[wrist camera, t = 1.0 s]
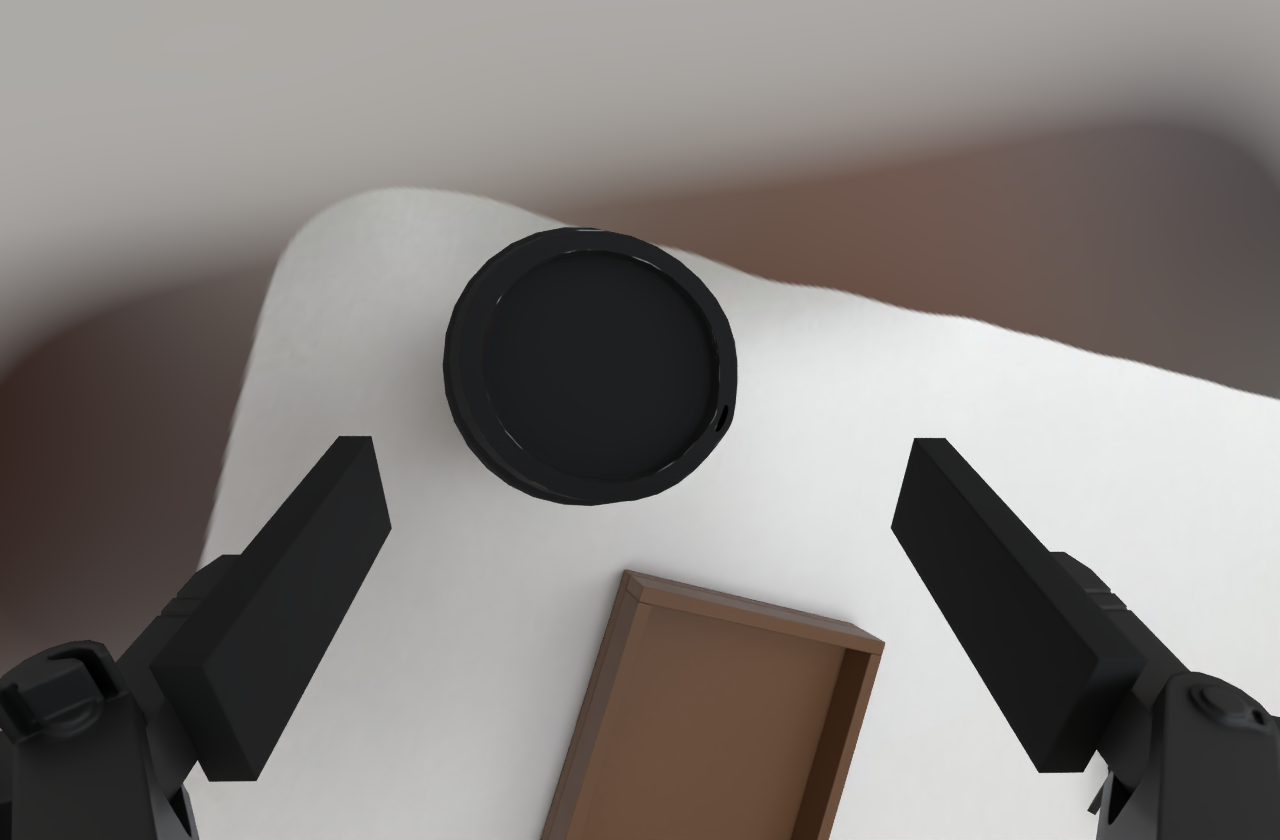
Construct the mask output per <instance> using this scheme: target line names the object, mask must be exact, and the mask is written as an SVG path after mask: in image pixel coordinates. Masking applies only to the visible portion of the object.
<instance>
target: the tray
mask: <svg viewBox="0 0 1280 840" xmlns="http://www.w3.org/2000/svg"><path fill="white" fill-rule="evenodd" d="M884 646H885V642H884V641H882V640H880V639H878V638H876V637H875V636H873V635H871V634H869V633H868V632H866V631H864V630H862V629H860V628H859V627H857V626H855V625H853V624H851V623H847V622H843V621H839V620H835V619H831V618H826V617H822V616H818V615H814V614H810V613H805V612H801V611H797V610H793V609H789V608H785V607H780V606H776V605H772V604H768V603H764V602H759V601H755V600H751V599H747V598H743V597H739V596H734V595H730V594H726V593H722V592H718V591H713V590H709V589H705V588H701V587H697V586H693V585H688V584H684V583H680V582H676V581H672V580H667V579H663V578H659V577H655V576H651V575H647V574H642V573H638V572H634V571H630V570H625V571H624V574H623V577H622V580H621V584H620V587H619V590H618V593H617V596H616V600H615V603H614V606H613V609H612V613H611V616H610V619H609V622H608V625H607V629H606V632H605V635H604V638H603V641H602V645H601V648H600V651H599V654H598V658H597V661H596V664H595V667H594V670H593V674H592V677H591V680H590V683H589V686H588V690H587V693H586V696H585V699H584V703H583V706H582V709H581V712H580V715H579V719H578V722H577V725H576V728H575V731H574V735H573V738H572V741H571V744H570V748H569V751H568V754H567V757H566V760H565V764H564V767H563V770H562V773H561V776H560V780H559V783H558V786H557V789H556V792H555V796H554V799H553V802H552V805H551V809H550V812H549V815H548V818H547V821H546V825H545V828H544V831H543V834H542V837H541V840H829V837H830V833H831V830H832V826H833V823H834V819H835V816H836V812H837V809H838V805H839V802H840V799H841V795H842V792H843V788H844V785H845V781H846V778H847V774H848V771H849V767H850V764H851V761H852V757H853V754H854V750H855V747H856V743H857V740H858V736H859V733H860V729H861V726H862V722H863V719H864V716H865V712H866V709H867V705H868V702H869V698H870V695H871V691H872V688H873V684H874V681H875V677H876V674H877V671H878V667H879V664H880V660H881V655H882V653H883V649H884Z"/></svg>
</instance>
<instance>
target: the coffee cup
mask: <svg viewBox="0 0 1280 840" xmlns="http://www.w3.org/2000/svg"><path fill="white" fill-rule="evenodd" d="M443 373H444V383H445V393H446V397H447V400H448V404H449V407H450V410H451V413H452V416H453V419H454V422H455V424H456V426H457V428H458V429H459V431H460V433H461V435H462V436H463V438H464V440H465V442H466V444H467V445H468V447H469V448H470V449H471V450H472V452H473V453H474V454H475V455H476V456H477V457H478V459H479V460H480V461H481V462H482V463H483V464H484V465H485V467H486V468H487V469H489V470H490V471H491V472H493V473H494V474H495V475H496V476H498V477H499V478H500V479H502V480H503V481H504V482H506V483H507V484H508V485H510V486H512V487H514V488H516V489H518V490H520V491H522V492H524V493H526V494H528V495H530V496H532V497H535V498H539V499H543V500H547V501H551V502H555V503H560V504H564V505H583V506H594V505H602V504H609V503H616V502H623V501H635V500H638V499H642V498H646V497H649V496H653V495H656V494H659V493H661V492H663V491H665V490H667V489H668V488H670V487H672V486H674V485H676V484H678V483H679V482H680V481H682V480H683V479H684V478H686V477H687V476H688V475H689V474H691V473H692V472H693V471H694V470H695V469H696V468H697V467H698V466H699V465H700V464H701V463H702V462H703V461H704V460H705V459H706V458H707V457H708V456H709V454H710V453H711V452H712V451H713V449H714V448H715V447H716V446H717V444H718V443H719V442H720V441H721V439H722V438H723V436H724V435H725V434H726V432H727V431H728V429H729V427H730V425H731V423H732V420H733V416H734V410H735V403H736V393H737V355H736V348H735V341H734V338H733V334H732V331H731V328H730V325H729V322H728V319H727V317H726V315H725V314H724V312H723V310H722V308H721V306H720V305H719V303H718V301H717V299H716V298H715V297H714V295H713V294H712V293H711V292H710V290H709V289H708V288H707V287H706V286H705V284H704V283H703V282H702V281H701V279H700V278H698V277H697V276H696V275H695V274H694V273H693V272H692V271H691V270H689V269H688V268H687V267H686V266H685V265H684V264H683V263H681V262H680V261H679V260H677V259H676V258H674V257H673V256H671V255H669V254H668V253H666V252H665V251H663V250H661V249H660V248H658V247H657V246H654V245H652V244H649V243H647V242H644V241H642V240H640V239H637V238H635V237H632V236H628V235H623V234H619V233H614V232H609V231H604V230H600V229H595V228H570V227H564V228H559V229H553V230H548V231H543V232H538V233H535V234H533V235H530V236H528V237H526V238H523V239H521V240H519V241H516V242H514V243H512V244H510V245H509V246H507V247H506V248H504V249H503V250H502V251H500V252H499V253H497V254H496V255H495V256H493V257H492V258H490V259H489V260H488V261H487V262H486V263H485V264H484V265H483V266H482V267H481V269H480V270H479V271H478V272H477V273H476V274H475V275H474V276H473V277H472V278H471V279H470V281H469V282H468V284H467V285H466V287H465V289H464V291H463V292H462V294H461V296H460V297H459V299H458V301H457V303H456V304H455V306H454V309H453V312H452V316H451V319H450V322H449V325H448V329H447V332H446V337H445V348H444V358H443Z"/></svg>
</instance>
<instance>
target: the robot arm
mask: <svg viewBox="0 0 1280 840" xmlns="http://www.w3.org/2000/svg"><path fill="white" fill-rule="evenodd" d="M391 529H392V527H391V523H390V518H389V514H388V509H387V505H386V500H385V495H384V491H383V486H382V482H381V477H380V473H379V468H378V464H377V459H376V455H375V450H374V446H373V441H372V437H371V436H339V437H338V438H337V439H336V440H335V442H334V443H333V444H332V445H331V446H330V448H329V449H328V450H327V451H326V452H325V454H324V455H323V456H322V457H321V458H320V460H319V461H318V462H317V463H316V464H315V466H314V467H313V468H312V469H311V470H310V472H309V473H308V474H307V475H306V477H305V478H304V479H303V480H302V481H301V483H300V484H299V485H298V486H297V487H296V489H295V490H294V491H293V492H292V493H291V495H290V496H289V497H288V498H287V499H286V501H285V502H284V503H283V504H282V505H281V507H280V508H279V509H278V510H277V511H276V513H275V514H274V515H273V516H272V517H271V519H270V520H269V521H268V522H267V523H266V525H265V526H264V527H263V528H262V529H261V531H260V532H259V533H258V534H257V535H256V537H255V538H254V539H253V540H252V542H251V543H250V544H249V545H248V546H247V548H246V549H245V550H244V551H243V552H242V554H241V555H221V556H220V557H218V558H217V559H215V560H214V561H212V562H211V563H210V564H208V565H207V566H205V567H204V568H202V569H201V570H199V571H198V572H196V573H195V574H194V575H193V576H192V578H191V579H190V580H189V581H188V582H187V583H186V584H185V585H184V587H183V588H182V589H181V590H180V591H179V592H178V593H177V597H176V598H173V599H172V600H171V601H170V602H169V604H168V605H167V606H166V607H165V608H164V609H163V610H162V613H161V616H157V617H156V618H155V619H154V620H153V621H152V622H151V624H150V625H149V626H148V627H147V628H146V629H145V630H144V631H143V633H142V634H141V635H140V636H139V637H138V638H137V639H136V640H135V641H134V642H133V644H132V645H131V646H130V647H129V648H128V649H127V650H126V652H125V653H124V654H123V655H122V656H121V657H120V658H119V659H118V660H117V662H116V663H115V662H114V660H113V658H112V656H111V655H110V653H109V652H108V650H107V649H106V647H105V646H104V644H102V643H99V642H95V641H91V640H85V641H74V642H68V643H65V644H61V645H58V646H55V647H52V648H48V649H46V650H44V651H42V652H40V653H38V654H36V655H34V656H32V657H30V658H28V659H26V660H24V661H23V662H21V663H20V664H19V665H17V666H16V667H14V668H13V669H11V670H10V671H9V672H7V673H6V674H4V675H3V676H2V678H1V679H0V728H1V729H2V730H3V731H0V840H199V836H198V831H197V827H196V823H195V819H194V814H193V810H192V806H191V802H190V797H189V794H188V792H187V790H186V788H185V787H184V785H183V782H184V780H185V779H186V777H187V776H188V774H189V772H190V771H191V769H192V768H193V766H194V765H195V763H196V762H197V760H198V761H199V763H200V765H201V767H202V769H203V771H204V773H205V775H206V777H207V778H208V780H209V782H217V781H257V779H258V777H259V775H260V773H261V772H262V770H263V768H264V766H265V764H266V762H267V760H268V758H269V757H270V755H271V753H272V751H273V749H274V747H275V745H276V744H277V742H278V740H279V738H280V736H281V734H282V732H283V730H284V729H285V727H286V725H287V723H288V721H289V719H290V717H291V715H292V714H293V712H294V710H295V708H296V706H297V704H298V702H299V701H300V699H301V697H302V695H303V693H304V691H305V689H306V687H307V686H308V684H309V682H310V680H311V678H312V676H313V674H314V673H315V671H316V669H317V667H318V665H319V663H320V661H321V659H322V658H323V656H324V654H325V652H326V650H327V648H328V646H329V645H330V643H331V641H332V639H333V637H334V635H335V633H336V631H337V630H338V628H339V626H340V624H341V622H342V620H343V618H344V617H345V615H346V613H347V611H348V609H349V607H350V605H351V603H352V602H353V600H354V598H355V596H356V594H357V592H358V590H359V588H360V587H361V585H362V583H363V581H364V579H365V577H366V575H367V574H368V572H369V570H370V568H371V566H372V564H373V562H374V560H375V559H376V557H377V555H378V553H379V551H380V549H381V547H382V546H383V544H384V542H385V540H386V538H387V536H388V534H389V532H390V531H391ZM891 529H892V531H893V533H894V534H895V536H896V538H897V539H898V541H899V543H900V544H901V546H902V547H903V549H904V551H905V552H906V554H907V556H908V557H909V559H910V561H911V562H912V564H913V566H914V567H915V569H916V571H917V572H918V574H919V576H920V577H921V579H922V581H923V582H924V584H925V586H926V587H927V589H928V590H929V592H930V594H931V595H932V597H933V599H934V600H935V602H936V604H937V605H938V607H939V609H940V610H941V612H942V614H943V615H944V617H945V619H946V620H947V622H948V624H949V625H950V627H951V628H952V630H953V632H954V633H955V635H956V637H957V638H958V640H959V642H960V643H961V645H962V647H963V648H964V650H965V652H966V653H967V655H968V657H969V658H970V660H971V662H972V663H973V665H974V666H975V668H976V670H977V671H978V673H979V675H980V676H981V678H982V680H983V681H984V683H985V685H986V686H987V688H988V690H989V691H990V693H991V695H992V696H993V698H994V700H995V701H996V703H997V705H998V706H999V708H1000V709H1001V711H1002V713H1003V714H1004V716H1005V718H1006V719H1007V721H1008V723H1009V724H1010V726H1011V728H1012V729H1013V731H1014V733H1015V734H1016V736H1017V738H1018V739H1019V741H1020V743H1021V744H1022V746H1023V747H1024V749H1025V751H1026V752H1027V754H1028V756H1029V757H1030V759H1031V761H1032V762H1033V764H1034V766H1035V767H1036V769H1037V771H1038V772H1039V773H1075V772H1084V770H1085V768H1086V766H1087V765H1088V763H1089V761H1090V760H1091V758H1092V756H1093V755H1094V753H1095V751H1096V749H1097V750H1098V752H1099V753H1100V755H1101V756H1102V757H1103V759H1104V760H1105V762H1106V763H1107V764H1108V766H1109V767H1110V769H1111V770H1112V771H1111V772H1110V774H1109V776H1108V777H1107V779H1106V780H1105V782H1104V784H1103V785H1102V787H1101V788H1100V790H1099V792H1098V793H1097V795H1096V797H1095V798H1094V800H1093V801H1092V803H1091V805H1090V807H1089V809H1088V810H1087V811H1089V812H1091V813H1092V814H1094V815H1096V813H1097V811H1098V810H1099V808H1100V807H1101V809H1100V815H1099V822H1098V829H1097V836H1096V840H1280V717H1276V716H1272V715H1270V714H1269V713H1268V712H1267V711H1266V710H1265V709H1264V708H1263V706H1262V705H1261V704H1260V703H1258V702H1257V701H1256V700H1254V699H1253V698H1252V697H1250V696H1249V695H1248V694H1246V693H1245V692H1244V691H1242V690H1241V689H1239V688H1237V687H1235V686H1233V685H1231V684H1229V683H1227V682H1225V681H1223V680H1221V679H1219V678H1216V677H1213V676H1210V675H1207V674H1204V673H1200V672H1191V671H1189V670H1188V669H1187V668H1186V667H1185V666H1184V665H1183V664H1182V663H1181V661H1180V660H1179V659H1178V658H1177V657H1176V656H1175V655H1174V654H1173V653H1172V652H1171V651H1170V650H1169V649H1168V648H1167V647H1166V646H1165V645H1164V644H1163V643H1162V642H1161V641H1160V640H1159V639H1158V638H1157V637H1156V636H1155V635H1154V634H1153V633H1152V632H1151V631H1150V630H1149V629H1148V627H1147V626H1146V625H1145V624H1144V623H1143V622H1142V621H1141V620H1140V619H1139V618H1138V617H1137V616H1136V615H1135V614H1134V613H1133V612H1132V611H1131V610H1127V608H1126V607H1127V606H1126V605H1125V604H1124V603H1123V602H1122V601H1121V600H1120V599H1119V598H1118V597H1117V596H1116V595H1115V594H1114V593H1111V592H1110V590H1111V589H1110V588H1109V587H1108V586H1107V585H1106V584H1105V583H1104V582H1103V581H1102V580H1101V579H1100V578H1099V577H1098V576H1097V575H1096V574H1095V573H1094V572H1093V571H1092V570H1091V569H1090V568H1088V567H1087V566H1085V565H1084V564H1082V563H1080V562H1079V561H1077V560H1076V559H1074V558H1073V557H1071V556H1070V555H1068V554H1067V553H1065V552H1049V551H1048V550H1047V548H1046V547H1045V546H1044V545H1043V544H1042V543H1041V542H1040V541H1039V540H1038V539H1037V538H1036V536H1035V535H1034V534H1033V533H1032V532H1031V531H1030V530H1029V529H1028V528H1027V527H1026V526H1025V524H1024V523H1023V522H1022V521H1021V520H1020V519H1019V518H1018V517H1017V516H1016V515H1015V514H1014V513H1013V511H1012V510H1011V509H1010V508H1009V507H1008V506H1007V505H1006V504H1005V503H1004V502H1003V501H1002V499H1001V498H1000V497H999V496H998V495H997V494H996V493H995V492H994V491H993V490H992V489H991V487H990V486H989V485H988V484H987V483H986V482H985V481H984V480H983V479H982V478H981V477H980V475H979V474H978V473H977V472H976V471H975V470H974V469H973V468H972V467H971V466H970V465H969V464H968V462H967V461H966V460H965V459H964V458H963V457H962V456H961V455H960V454H959V453H958V452H957V450H956V449H955V448H954V447H953V446H952V445H951V444H950V443H949V442H948V441H947V440H946V438H914V441H913V445H912V449H911V452H910V456H909V460H908V464H907V468H906V472H905V475H904V479H903V483H902V487H901V491H900V495H899V498H898V502H897V506H896V510H895V514H894V518H893V521H892V525H891Z"/></svg>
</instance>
